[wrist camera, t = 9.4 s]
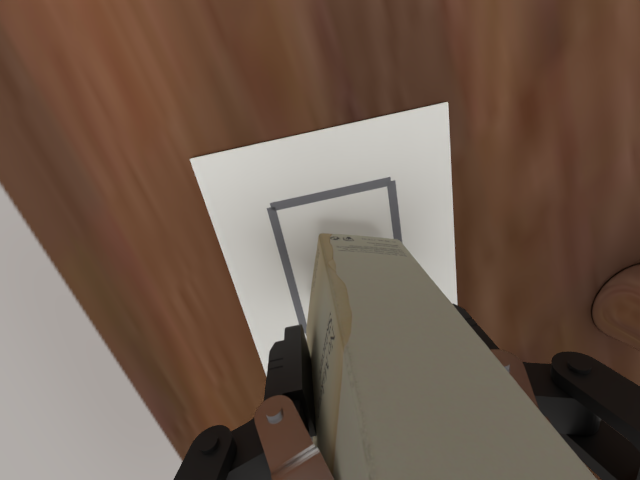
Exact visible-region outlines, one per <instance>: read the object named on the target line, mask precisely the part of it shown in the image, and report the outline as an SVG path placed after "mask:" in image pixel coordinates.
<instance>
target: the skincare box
mask: <svg viewBox="0 0 640 480" xmlns="http://www.w3.org/2000/svg"><path fill="white" fill-rule="evenodd" d="M306 335H307V344H308V348H309V352H310V356H311V365H312V380H313V394H314V408H315V422H316V436H314V437H313V444H314V445H315V446H317V447H318V449H319V451H320V452H321V454H322V456H323V458H324V460H325V462H326V464H327V466H328V468H329V470H330V472H331V474H332V476H333V478H334V480H597V479H596V478H595V476H594V475H593V474H592V473H591V472H590V470H589V469H588V468H587V467H586V466H585V464H584V463H583V462H582V461H581V459H580V458H579V457H578V456H577V455H576V453H575V452H574V451H573V450H572V449H571V447H570V446H569V445H568V444H567V443H566V442H565V440H564V439H563V438H562V437H561V436H560V434H559V433H558V432H557V431H556V430H555V428H554V427H553V426H552V425H551V424H550V422H549V421H548V420H547V419H546V417H545V416H544V415H543V414H542V413H541V412H540V410H539V409H538V408H537V407H536V405H535V404H534V403H533V402H532V400H531V399H530V398H529V397H528V396H527V394H526V393H525V392H524V391H523V390H522V388H521V387H520V386H519V384H518V383H517V382H516V381H515V379H514V378H513V377H512V376H511V375H510V374H509V372H508V371H507V370H506V369H505V368H504V366H503V365H502V364H501V362H500V361H499V360H498V359H497V358H496V357H495V355H494V354H493V353H492V352H491V350H490V349H489V348H488V347H487V345H486V344H485V343H484V342H483V341H482V340H481V338H480V337H479V336H478V335H477V334H476V332H475V331H474V330H473V329H472V327H471V326H470V325H469V324H468V323H467V322H466V320H465V319H464V318H463V317H462V315H461V314H460V313H459V312H458V311H457V309H456V308H455V307H454V305H453V304H452V303H451V302H450V301H449V299H448V298H447V297H446V296H445V295H444V293H443V292H442V291H441V290H440V289H439V287H438V286H437V285H436V284H435V282H434V281H433V280H432V279H431V278H430V277H429V275H428V274H427V273H426V272H425V270H424V269H423V268H422V267H421V266H420V264H419V263H418V262H417V261H416V259H415V258H414V257H413V256H412V255H411V253H410V252H409V251H408V250H407V248H406V247H405V246H404V245H403V244H402V242H401V241H400V240H398V239H389V238H380V237H369V236H358V235H344V234H328V233H321V234H319V236H318V244H317V251H316V257H315V264H314V270H313V278H312V285H311V293H310V302H309V311H308V319H307V328H306Z"/></svg>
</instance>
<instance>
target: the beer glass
mask: <svg viewBox="0 0 640 480" xmlns="http://www.w3.org/2000/svg"><path fill="white" fill-rule="evenodd" d="M592 317H593V321H594V323H595V325H596V326H597V327H598V328H599V329H600V330H601V331H602V332H603V333H605V334H607V335H609V336H610V337H612V338H614V339H616V340H618V341H621V342H623V343H625V344H627V345H629V346H631V347H633V348H635V349H637V350H638V351H640V264H638V265H634V266H632V267H629V268H627V269H625V270H623V271H621V272H620V273H618V274H617V275H615V276H614V277H612V278H611V279H610V280H609V281H608V282H607V283H606V284H605V285H604V286H603V287H602V289H601V290H600V291H599V293H598V295H597V297H596V299H595V301H594V304H593V308H592Z"/></svg>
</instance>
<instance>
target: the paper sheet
mask: <svg viewBox="0 0 640 480" xmlns="http://www.w3.org/2000/svg"><path fill="white" fill-rule="evenodd" d="M190 161H191V164H192V167H193V170H194V173H195V176H196V178H197V181H198V184H199V187H200V190H201V193H202V195H203V198H204V201H205V204H206V207H207V210H208V212H209V215H210V218H211V221H212V224H213V227H214V229H215V232H216V235H217V238H218V241H219V243H220V246H221V249H222V252H223V255H224V258H225V260H226V263H227V266H228V269H229V272H230V275H231V277H232V280H233V283H234V286H235V289H236V292H237V294H238V297H239V300H240V303H241V306H242V308H243V311H244V314H245V317H246V320H247V323H248V325H249V328H250V331H251V334H252V337H253V340H254V342H255V345H256V348H257V351H258V354H259V357H260V359H261V362H262V365H263V368H264V371H265V373H266V376H267V371H268V363H269V361H268V360H269V351H270V350H271V348H272V346H273V345H274V343H275V342H277V341H282V340H284V332H285V328H286V327H290V326H295V325H299V324H302V327H303V330H304V334H305V337H306V341H307V335H306V328H307V319H308V311H309V302H310V293H311V285H312V278H313V270H314V264H315V257H316V251H317V244H318V236H319V234H321V233H328V234H344V235H358V236H369V237H380V238H389V239H398V240H400V241H401V242H402V244H403V245H404V246H405V247H406V248H407V250H408V251H409V252H410V253H411V255H412V256H413V257H414V258H415V259H416V261H417V262H418V263H419V264H420V266H421V267H422V268H423V269H424V270H425V272H426V273H427V274H428V275H429V277H430V278H431V279H432V280H433V281H434V282H435V284H436V285H437V286H438V287H439V289H440V290H441V291H442V292H443V293H444V295H445V296H446V297H447V298H448V299H449V301H450V302H451V303H452V304H456V305H457V285H456V263H455V241H454V219H453V197H452V175H451V154H450V132H449V110H448V102H444V103H439V104H435V105H430V106H426V107H421V108H417V109H412V110H408V111H403V112H399V113H394V114H390V115H385V116H381V117H376V118H371V119H367V120H362V121H358V122H353V123H349V124H344V125H340V126H335V127H331V128H326V129H322V130H317V131H313V132H308V133H303V134H299V135H294V136H290V137H285V138H281V139H276V140H272V141H267V142H263V143H258V144H254V145H249V146H244V147H240V148H235V149H231V150H226V151H222V152H217V153H213V154H208V155H204V156H199V157H195V158H191V159H190Z"/></svg>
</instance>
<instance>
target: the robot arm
mask: <svg viewBox="0 0 640 480" xmlns="http://www.w3.org/2000/svg"><path fill="white" fill-rule="evenodd" d="M453 305H454V307H455V308H456V309H457V311H458V312H459V313H460V314H461V315H462V317H463V318H464V319H465V320H466V322H467V323H468V324H469V325H470V326H471V327H472V329H473V330H474V331H475V332H476V334H477V335H478V336H479V337H480V338H481V340H482V341H483V342H484V343H485V344H486V345H487V347H488V348H489V349H490V350H491V352H492V353H493V354H494V355H495V357H496V358H497V359H498V360H499V361H500V362H501V364H502V365H503V366H504V368H505V369H506V370H507V371H508V372H509V374H510V375H511V376H512V377H513V378H514V379H515V381H516V382H517V383H518V384H519V386H520V387H521V388H522V390H523V391H524V392H525V393H526V394H527V396H528V397H529V398H530V399H531V400H532V402H533V403H534V404H535V405H536V407H537V408H538V409H539V410H540V412H541V413H542V414H543V415H544V416H545V417H546V419H547V420H548V421H549V422H550V424H551V425H552V426H553V427H554V428H555V430H556V431H557V432H558V433H559V434H560V436H561V437H562V438H563V439H564V440H565V442H566V443H567V444H568V445H569V446H570V447H571V449H572V450H573V451H574V452H575V453H576V455H577V456H578V457H579V458H580V459H581V460H582V461H583V462H584V463H585V464H586V465H587V466H588V467H589V468H590V469H591V470H592V471H594V472H595V473H596V474H597V475H598V476H599V477H600V478H601V479H602V480H640V386H638V385H636V384H635V383H633V382H632V381H630V380H628V379H627V378H625V377H623V376H622V375H620V374H619V373H617V372H615V371H614V370H612V369H610V368H609V367H607V366H605V365H604V364H602V363H601V362H599V361H597V360H596V359H594V358H592V357H590V356H588V355H585V354H581V353H577V352H561V353H558V354H556V355H555V356H554V357H553V358H552V363H551V364H540V363H526V362H522V361H521V360H520V359H519V358H518V357H517V356H515V355H514V354H512V353H510V352H507V351H504V350H500V349H499V348H498V347H497V346H496V345H495V344H494V342H493V341H492V340H491V339H490V338H489V337H488V336H487V334H486V333H485V332H484V331H483V330H482V329H481V328H480V326H478V325H477V323H476V322H475V321H474V320H473V319H472V317H471V316H470V315H469V314H468V313H467V312H466V310H465V309H463V308H461V307H459V306H457V305H456V304H453ZM268 361H269V363H268V371H267V378H266V387H265V396H264V402H263V403H262V404H261V405H260V406H259V407H258V409H257V410H256V413H255V417H254V418H253V419H252V420H251V421H249V422H248V423H246V424H244V425H242V426H240V427H239V428H237V429H235V430H233V431H231V432H230V430H229V429H228V428H227V427H226V426H223V425H216V426H212V427H210V428H208V429H206V430H204V431H203V432H202V433H201V434H199V435H198V436H197V437H196V439H195V440H194V441H193V443H192V445H191V446H190V448H189V450H188V452H187V454H186V456H185V458H184V460H183V462H182V464H181V466H180V468H179V470H178V472H177V474H176V476H175V478H174V480H334V478H333V476H332V474H331V472H330V470H329V468H328V466H327V464H326V462H325V460H324V458H323V456H322V454H321V452H320V451H319V449H318V447H317V446H315V445H314V444H313V442H312V440H311V438H310V437H314V436H316V422H315V408H314V394H313V380H312V365H311V356H310V352H309V348H308V344H307V341H306V337H305V334H304V330H303V327H302V324H299V325H295V326H290V327H286V328H285V332H284V340H282V341H277V342H275V343H274V345H273V346H272V348H271V350H270V351H269V360H268ZM601 419H602V420H603V421H602V420H601ZM606 423H607V424H606ZM610 426H611V427H610ZM614 429H615V430H616V431H615V430H614ZM618 432H619V433H620V434H619V433H618ZM622 435H623V436H624V437H623V436H622ZM627 439H628V440H627Z"/></svg>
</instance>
